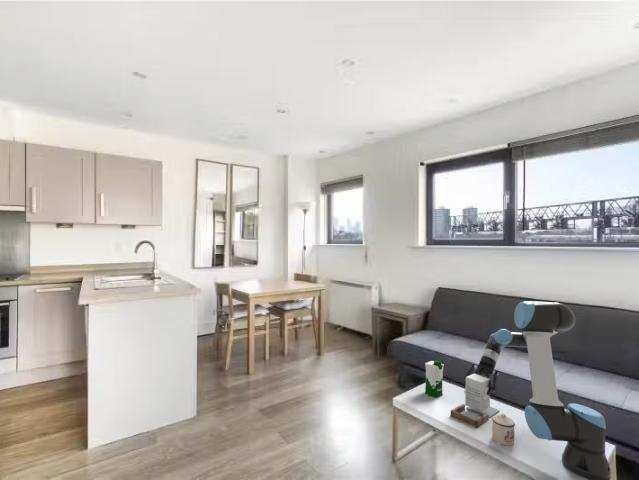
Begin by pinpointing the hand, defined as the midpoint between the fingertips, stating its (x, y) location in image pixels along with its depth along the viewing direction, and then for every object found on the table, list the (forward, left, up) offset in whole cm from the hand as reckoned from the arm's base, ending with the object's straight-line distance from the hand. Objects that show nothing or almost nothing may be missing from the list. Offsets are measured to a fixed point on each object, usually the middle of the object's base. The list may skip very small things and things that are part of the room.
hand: (474, 396), depth 171 cm
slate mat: (+5, -7, -9) cm, 13 cm away
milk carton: (+22, +14, -9) cm, 28 cm away
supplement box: (+2, -2, -6) cm, 7 cm away
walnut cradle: (-4, +4, -9) cm, 11 cm away
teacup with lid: (-22, -4, -9) cm, 24 cm away
